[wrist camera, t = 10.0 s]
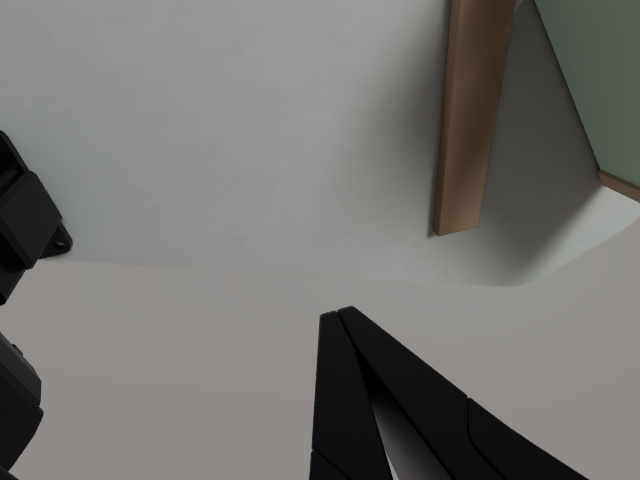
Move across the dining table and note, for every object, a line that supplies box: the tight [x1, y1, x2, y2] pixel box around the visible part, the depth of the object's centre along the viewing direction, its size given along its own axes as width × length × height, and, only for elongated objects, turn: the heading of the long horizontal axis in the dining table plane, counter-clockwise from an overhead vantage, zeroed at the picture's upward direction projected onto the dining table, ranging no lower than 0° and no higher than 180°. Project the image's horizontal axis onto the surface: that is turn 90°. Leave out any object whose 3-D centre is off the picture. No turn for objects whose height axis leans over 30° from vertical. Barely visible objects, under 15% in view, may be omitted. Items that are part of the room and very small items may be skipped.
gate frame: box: [433, 0, 515, 236], centre depth 16 cm, size 6×18×14 cm, turn 6°
